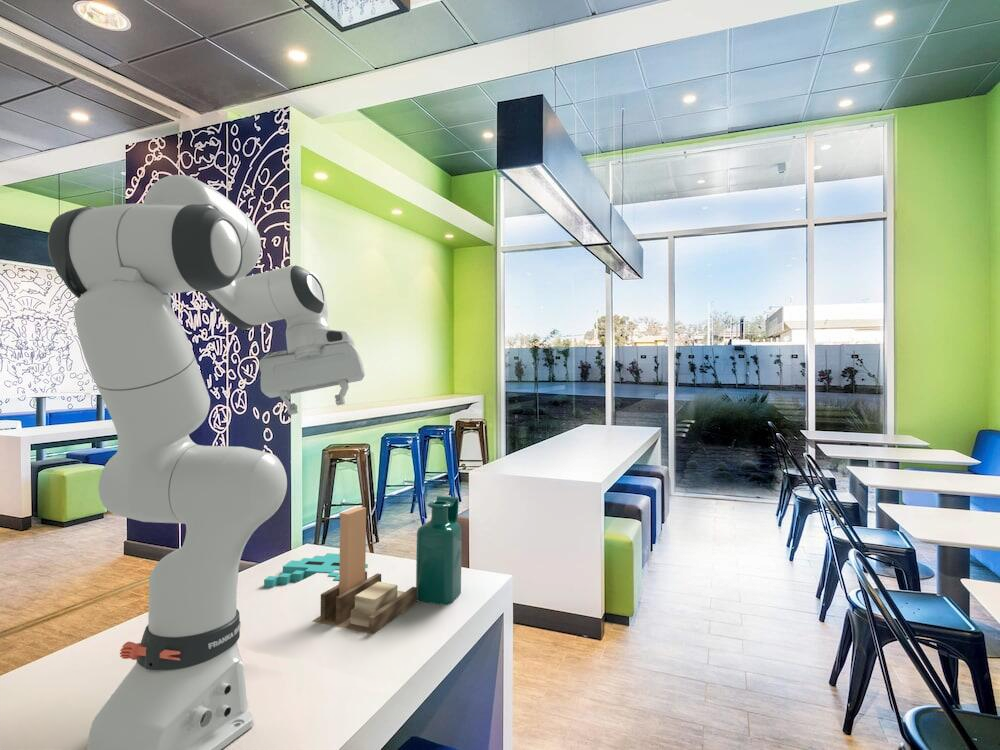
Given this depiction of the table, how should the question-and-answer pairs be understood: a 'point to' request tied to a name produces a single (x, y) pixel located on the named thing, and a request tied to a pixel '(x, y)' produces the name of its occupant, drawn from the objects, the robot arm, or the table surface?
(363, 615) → the offcut stack
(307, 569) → the alien figure
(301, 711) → the table surface
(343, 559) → the panel
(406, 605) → the rack
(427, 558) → the pitcher
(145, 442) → the robot arm
